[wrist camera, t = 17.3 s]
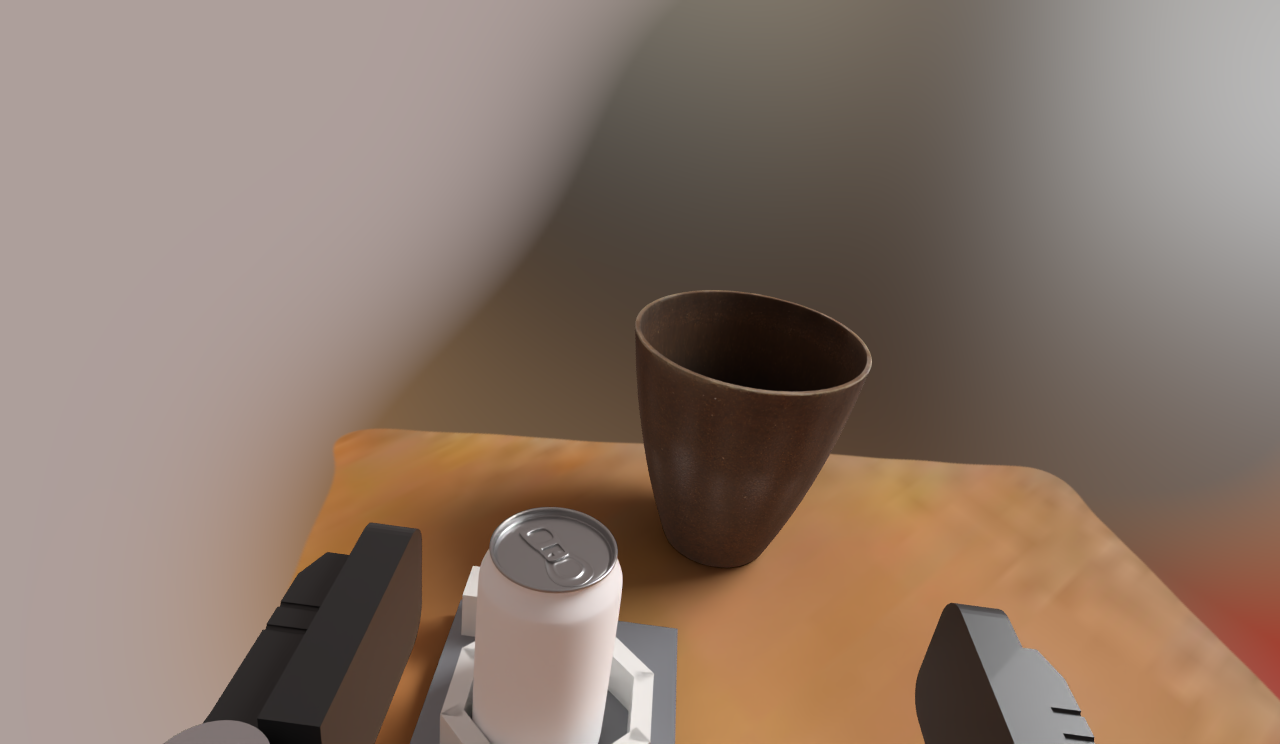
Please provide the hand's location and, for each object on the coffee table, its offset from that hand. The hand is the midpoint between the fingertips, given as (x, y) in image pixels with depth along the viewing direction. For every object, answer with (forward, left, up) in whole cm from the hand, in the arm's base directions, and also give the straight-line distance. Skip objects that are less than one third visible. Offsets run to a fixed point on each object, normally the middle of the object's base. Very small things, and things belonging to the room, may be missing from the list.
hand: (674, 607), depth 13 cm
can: (+4, -19, -27) cm, 33 cm away
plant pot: (-6, -38, -28) cm, 48 cm away
